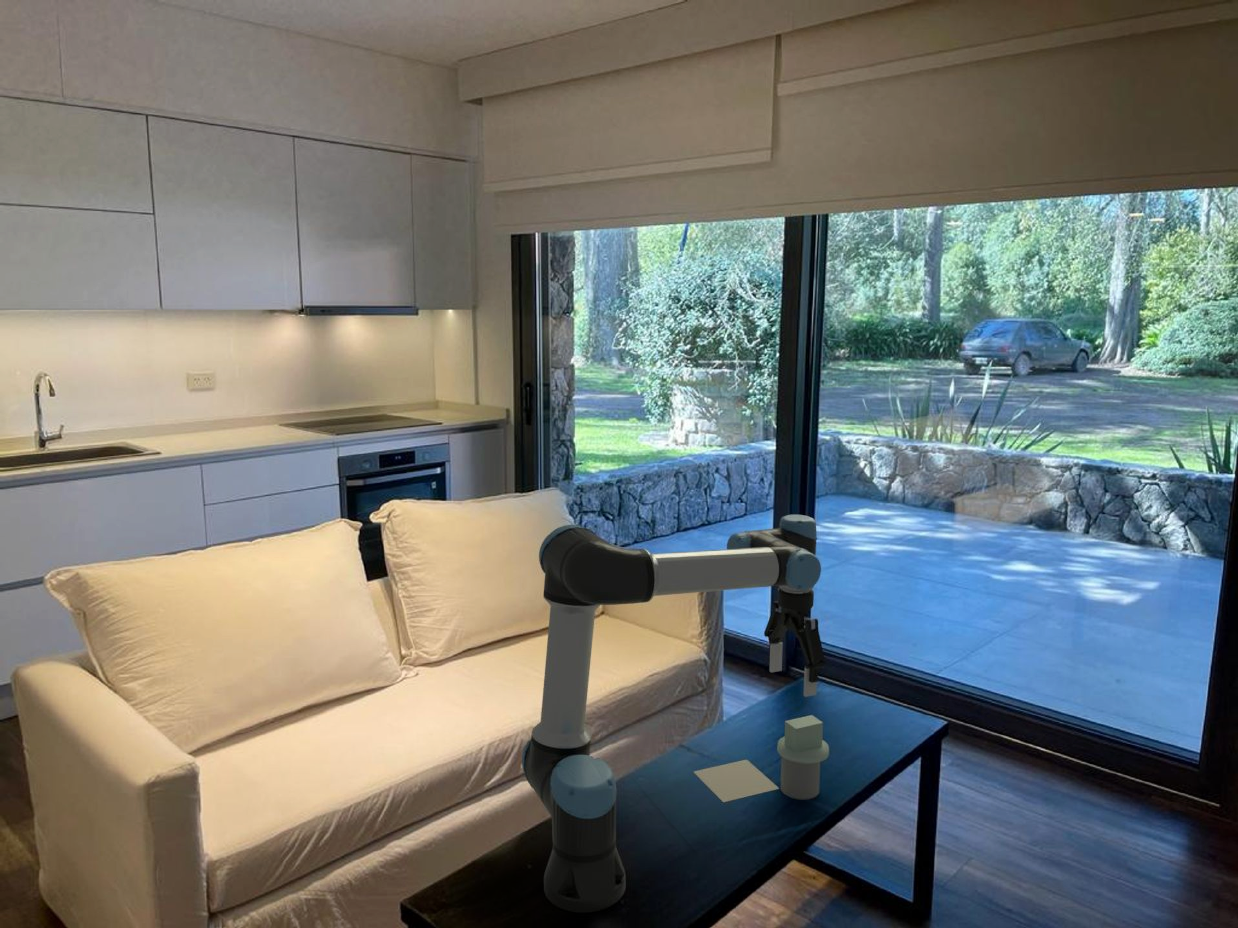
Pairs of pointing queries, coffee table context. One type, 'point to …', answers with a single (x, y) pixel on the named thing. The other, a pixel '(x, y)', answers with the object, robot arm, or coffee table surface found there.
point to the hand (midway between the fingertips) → (792, 682)
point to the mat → (735, 780)
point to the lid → (803, 741)
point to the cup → (800, 779)
